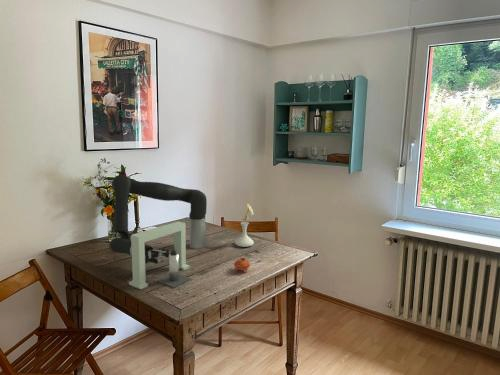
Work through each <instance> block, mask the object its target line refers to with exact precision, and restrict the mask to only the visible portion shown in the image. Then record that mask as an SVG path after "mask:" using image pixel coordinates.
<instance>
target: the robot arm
mask: <svg viewBox="0 0 500 375" xmlns="http://www.w3.org/2000/svg"><path fill="white" fill-rule="evenodd" d="M110 186H111V189H112V190H113V191H114V197H115V198H114V200H115V203H114V204H115V205H114V213H113V232H114V233H117V234H119V235H120V237H114V238H112V239H111V240H110V241H109V248H110V250H111V251H112V252H114V253H118V254H125V255H128V256H131V257H132V246H131V234H130V232H129V195H137V196H141V197H145V198H149V199H153V200H159V201H166V202H167V201H168V202H169V201H170V202H171V201H172V202H173V201H179V202H184V203H187V204H190V212H189V216H188V217H189V220H188V221H189V222H188V223H189V228H188V229H189V232H188V233H189V235H188V236H189V237H188V238H189V248H191V249H203V248H205V247H207V230H206V214H207V205H208V204H207V196H206V194H205V193H204V192H202V191H201V190H199V189H192V188H182V187H179V186H176V185H175V186H174V185H171V184H167V183H162V182H155V181H139V180H134V179H130V178H129V177H128V175H126V174H119V175H116V176H115V177H113V179H112V180H111V183H110ZM144 245H145V264H148V263H149V264H150V263H153V264H155V265H157V264H159V259H161V258H162V257H163V258H164V257H165V258H167V259H169V254H171V252H169V249H166V248H163V247H159V248H158V249H155V248H153V247H152V245H149V244H146V243H144ZM158 258H159V259H158Z"/></svg>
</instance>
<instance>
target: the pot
mask: <svg viewBox="0 0 500 375" xmlns="http://www.w3.org/2000/svg"><path fill="white" fill-rule="evenodd" d="M233 265H234V268H235V271H236V272H238V271H245V273H247V272H248V270H249V268H250V266H251V262H250V261H249V260H248V259H246V258H245V257H239V258H238V259H237V260H236V261H234V263H233Z"/></svg>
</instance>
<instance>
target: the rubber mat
mask: <svg viewBox="0 0 500 375" xmlns="http://www.w3.org/2000/svg"><path fill="white" fill-rule="evenodd" d="M191 280H192V278H191V277H188V276H185V275H182V274H180V273H179V280H178V281H174V282H173V281H170V280H169V274H168V275H166V276H164V277H162V278H159V279H157V280H156V282H157V283H159V284H163V285H165V286H166V287H171V288H173V289H175V288H177V287H179V286H181V285H184V284H185V283H187V282H189V281H191Z"/></svg>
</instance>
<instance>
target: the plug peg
mask: <svg viewBox="0 0 500 375" xmlns="http://www.w3.org/2000/svg"><path fill="white" fill-rule="evenodd" d="M170 253H171V254H169V258H168V275H169V280H170V281H173V282H174V281H178V280H179V274H180V269H179V254H178V253H177V250H175V249H174V248H173V249H171V250H170Z"/></svg>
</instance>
